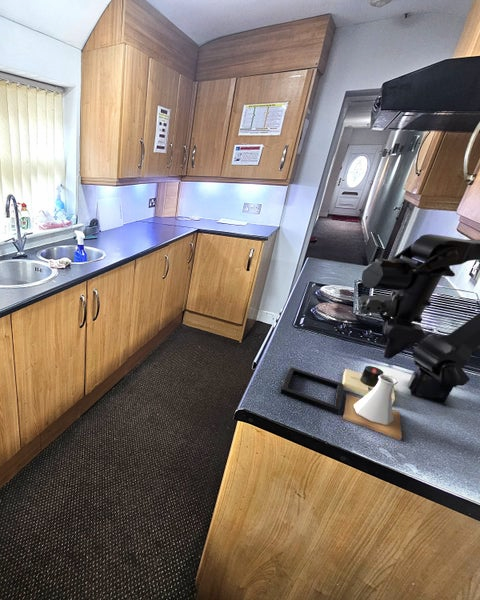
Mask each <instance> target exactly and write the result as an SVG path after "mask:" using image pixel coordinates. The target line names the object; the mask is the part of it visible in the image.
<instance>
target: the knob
mask: <svg viewBox="0 0 480 600" xmlns="http://www.w3.org/2000/svg"><path fill="white" fill-rule="evenodd" d="M381 374H383V375H384V371H383V370H382V369H380V368H379V367H377V366H372V365H366V366H365V367H364V369H363V372H362V376H361V379H360V381H361V382H362V383H363V384H365V385H367V386H371V387H375V386H376V385H377V383H378V381H379V378H378V377H379V375H381Z"/></svg>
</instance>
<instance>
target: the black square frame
mask: <svg viewBox="0 0 480 600" xmlns="http://www.w3.org/2000/svg"><path fill="white" fill-rule="evenodd" d="M293 376H297V377H298V378H302V379H305V380H307V381H311V382H314V383H317V384H320V385H323V386H326V387H329V388H332V389H335V397H334V403H333V404H332V403H330V402H326V401H324V400H322V399H318V398H316V397H313V396H310V395H307V394H304V393H302V392H299V391H296V390H293V389H290V388H289V385H290V383H291V380H292V377H293ZM280 394H281V395H284V396H287V397H289V398H292V399H295V400H297V401H300V402H302V403H305V404H308V405H311V406H313V407H316V408H319V409H321V410H324V411H326V412H329V413H332V414H335V415H339V413H340V411H341V409H342V404H343V397H344V386H343V384H342V382H338V381H335V380H332V379H329V378H326V377H323V376H320V375H317V374H314V373H311V372H308V371H304V370H302V369H298V368H295V367H293V366H290V367H289V368H288V370H287V373H286V375H285V378H284V381H283V383H282V385H281V389H280Z"/></svg>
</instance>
